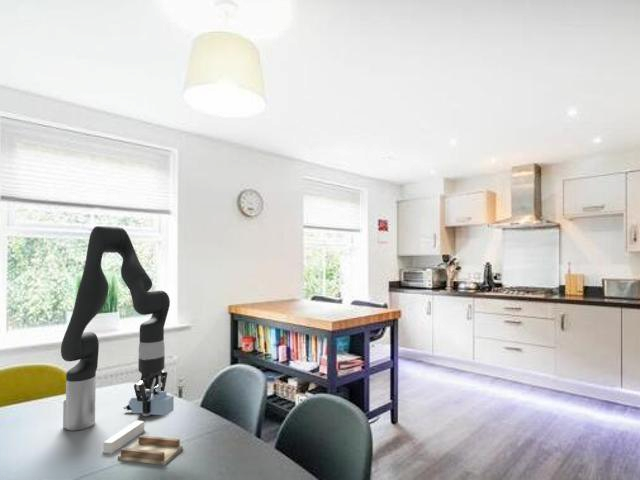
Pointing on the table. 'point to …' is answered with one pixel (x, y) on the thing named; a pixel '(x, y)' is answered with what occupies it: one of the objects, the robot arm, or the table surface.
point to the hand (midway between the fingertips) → (151, 410)
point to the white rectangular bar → (123, 437)
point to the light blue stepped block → (154, 404)
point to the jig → (152, 450)
